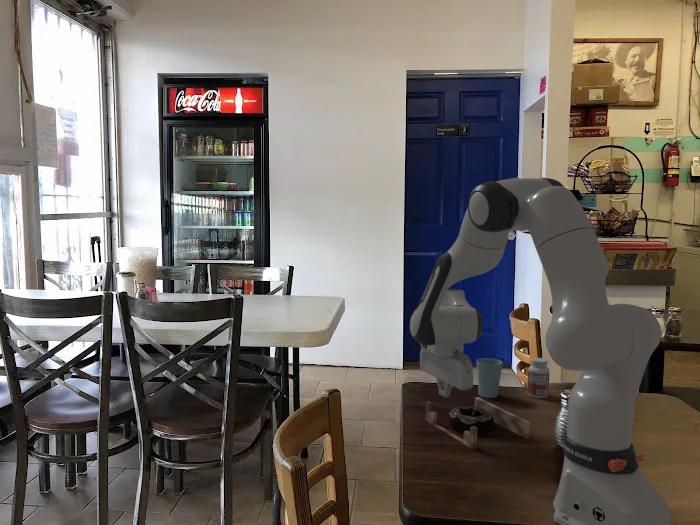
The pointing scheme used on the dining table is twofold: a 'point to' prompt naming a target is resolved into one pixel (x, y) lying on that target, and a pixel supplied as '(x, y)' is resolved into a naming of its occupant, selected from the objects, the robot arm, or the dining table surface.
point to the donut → (470, 419)
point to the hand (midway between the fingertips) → (444, 395)
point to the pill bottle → (538, 378)
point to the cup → (488, 376)
